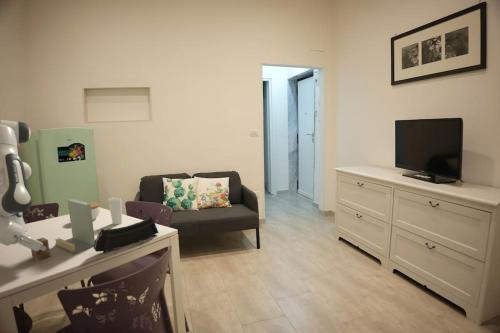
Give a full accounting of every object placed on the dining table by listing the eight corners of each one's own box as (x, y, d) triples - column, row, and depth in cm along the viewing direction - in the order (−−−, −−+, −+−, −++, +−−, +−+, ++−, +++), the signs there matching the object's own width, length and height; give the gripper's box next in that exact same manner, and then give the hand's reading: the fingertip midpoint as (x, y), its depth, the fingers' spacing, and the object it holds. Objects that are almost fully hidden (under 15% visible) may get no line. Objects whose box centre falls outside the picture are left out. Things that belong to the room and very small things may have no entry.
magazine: (158, 216, 150) (99, 214, 127) (161, 217, 147) (102, 215, 125) (152, 248, 148) (92, 252, 126) (155, 250, 146) (94, 254, 124)
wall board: (73, 253, 128) (67, 209, 125) (55, 245, 138) (49, 204, 134) (95, 245, 136) (90, 203, 133) (77, 238, 146) (71, 199, 143)
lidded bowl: (104, 218, 175) (102, 201, 174) (81, 224, 166) (79, 206, 165) (97, 214, 184) (95, 198, 182) (75, 219, 175) (73, 202, 173)
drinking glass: (118, 225, 163) (116, 200, 161) (108, 224, 164) (105, 200, 162) (126, 221, 169) (123, 197, 167) (116, 220, 171) (113, 197, 168)
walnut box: (35, 261, 121) (33, 244, 120) (31, 259, 124) (28, 241, 123) (50, 256, 126) (47, 239, 125) (45, 254, 129) (43, 237, 127)
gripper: (26, 231, 111) (57, 245, 121) (7, 222, 122) (37, 236, 132) (14, 246, 108) (46, 259, 118) (-4, 236, 119) (27, 248, 129)
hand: (41, 247), depth 125 cm, fingers closed on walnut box, 5 cm apart
